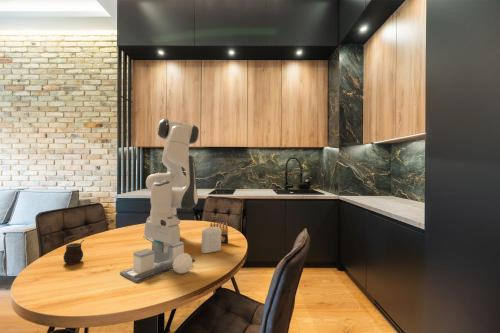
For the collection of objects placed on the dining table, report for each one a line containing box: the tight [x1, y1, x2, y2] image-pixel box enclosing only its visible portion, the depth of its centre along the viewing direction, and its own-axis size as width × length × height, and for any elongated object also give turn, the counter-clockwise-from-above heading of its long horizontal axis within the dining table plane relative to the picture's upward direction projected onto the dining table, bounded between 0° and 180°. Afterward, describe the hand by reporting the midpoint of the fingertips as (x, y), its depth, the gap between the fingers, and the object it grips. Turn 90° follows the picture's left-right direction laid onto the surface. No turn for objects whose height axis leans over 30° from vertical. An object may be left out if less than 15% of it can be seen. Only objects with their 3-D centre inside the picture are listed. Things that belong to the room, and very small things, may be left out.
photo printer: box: [201, 226, 222, 254], centre depth 129 cm, size 10×4×12 cm, turn 123°
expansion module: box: [151, 241, 170, 264], centre depth 108 cm, size 4×6×8 cm, turn 145°
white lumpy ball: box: [172, 252, 193, 275], centre depth 103 cm, size 8×8×8 cm
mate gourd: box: [63, 239, 85, 265], centre depth 111 cm, size 7×8×10 cm
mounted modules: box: [132, 241, 185, 273], centre depth 108 cm, size 5×21×7 cm, turn 144°
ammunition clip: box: [210, 221, 229, 245], centre depth 144 cm, size 11×2×12 cm, turn 83°
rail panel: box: [119, 257, 195, 284], centre depth 108 cm, size 12×28×2 cm, turn 144°
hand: (160, 251), depth 108 cm, fingers closed on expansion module, 4 cm apart
